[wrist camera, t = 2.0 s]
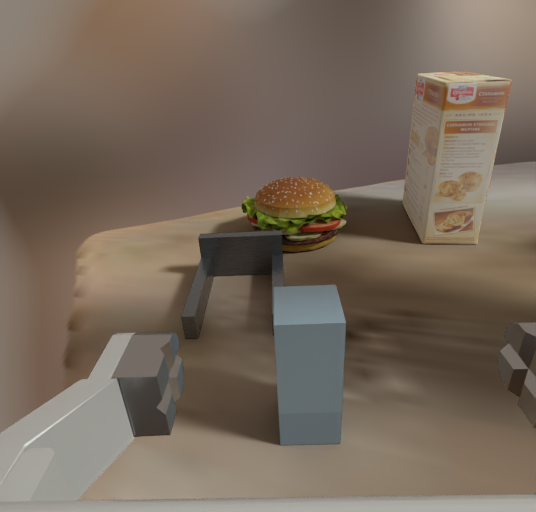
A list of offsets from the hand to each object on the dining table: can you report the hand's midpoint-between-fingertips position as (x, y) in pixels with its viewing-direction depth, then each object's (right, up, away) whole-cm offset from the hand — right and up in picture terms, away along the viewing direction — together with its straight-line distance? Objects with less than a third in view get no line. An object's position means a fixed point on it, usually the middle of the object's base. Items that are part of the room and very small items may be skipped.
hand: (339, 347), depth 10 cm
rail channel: (-5, -3, +32) cm, 33 cm away
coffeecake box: (+22, +7, +48) cm, 54 cm away
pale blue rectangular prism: (+1, -9, +19) cm, 21 cm away
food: (+2, +5, +47) cm, 47 cm away
